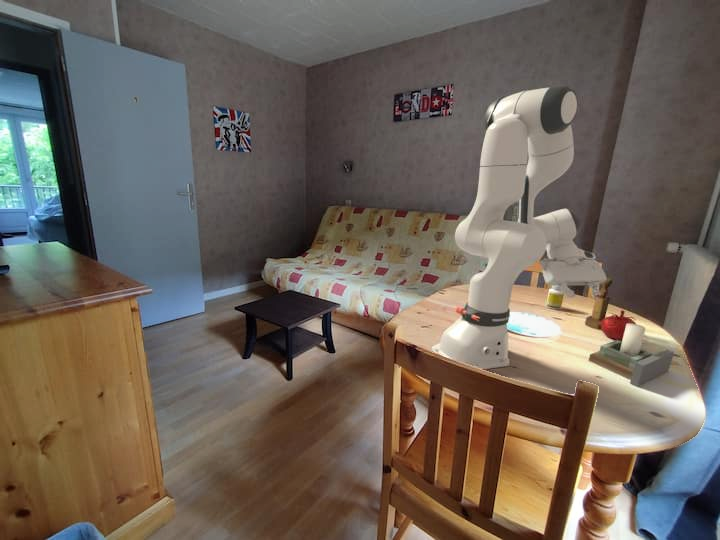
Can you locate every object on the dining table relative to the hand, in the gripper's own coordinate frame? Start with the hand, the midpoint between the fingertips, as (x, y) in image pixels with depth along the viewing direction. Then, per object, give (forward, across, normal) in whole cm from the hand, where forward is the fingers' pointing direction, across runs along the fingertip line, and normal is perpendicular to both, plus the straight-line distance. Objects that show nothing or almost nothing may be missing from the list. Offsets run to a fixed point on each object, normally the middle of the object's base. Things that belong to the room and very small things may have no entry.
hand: (584, 296), depth 99 cm
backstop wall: (+26, +3, -4) cm, 26 cm away
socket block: (+21, +1, 0) cm, 21 cm away
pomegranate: (+10, +17, +11) cm, 23 cm away
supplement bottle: (-9, +16, +30) cm, 35 cm away
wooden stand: (+4, +18, +17) cm, 25 cm away
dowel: (+20, +2, -2) cm, 20 cm away
